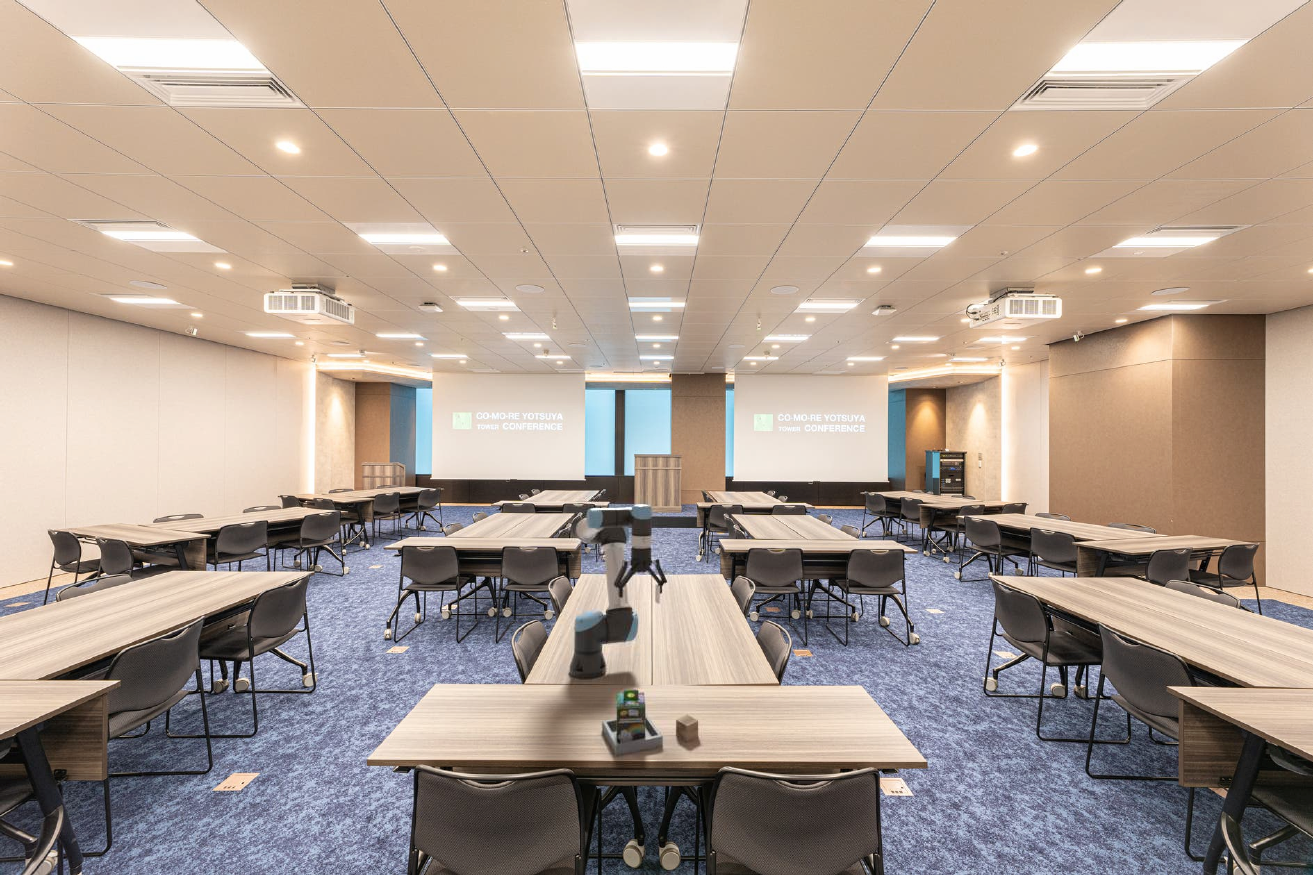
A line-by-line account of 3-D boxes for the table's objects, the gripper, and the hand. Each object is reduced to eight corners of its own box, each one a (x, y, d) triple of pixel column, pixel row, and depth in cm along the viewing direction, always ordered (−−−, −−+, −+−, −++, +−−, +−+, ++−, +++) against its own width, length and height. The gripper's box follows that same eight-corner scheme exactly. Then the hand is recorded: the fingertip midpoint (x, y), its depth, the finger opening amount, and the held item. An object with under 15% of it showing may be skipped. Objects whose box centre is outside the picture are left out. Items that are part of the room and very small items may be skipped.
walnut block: (675, 735, 158) (676, 719, 158) (686, 730, 161) (687, 714, 161) (687, 742, 154) (687, 725, 154) (698, 736, 157) (698, 720, 157)
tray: (602, 730, 160) (602, 720, 160) (645, 721, 165) (645, 712, 166) (615, 756, 146) (616, 746, 146) (662, 746, 152) (662, 736, 152)
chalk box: (644, 727, 161) (644, 681, 161) (646, 744, 151) (646, 694, 152) (615, 728, 160) (616, 682, 161) (615, 745, 151) (616, 695, 151)
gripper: (611, 550, 175) (610, 610, 174) (676, 546, 184) (675, 603, 183) (606, 546, 182) (605, 604, 181) (668, 543, 191) (667, 598, 190)
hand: (640, 604), depth 182 cm, fingers open, 13 cm apart
